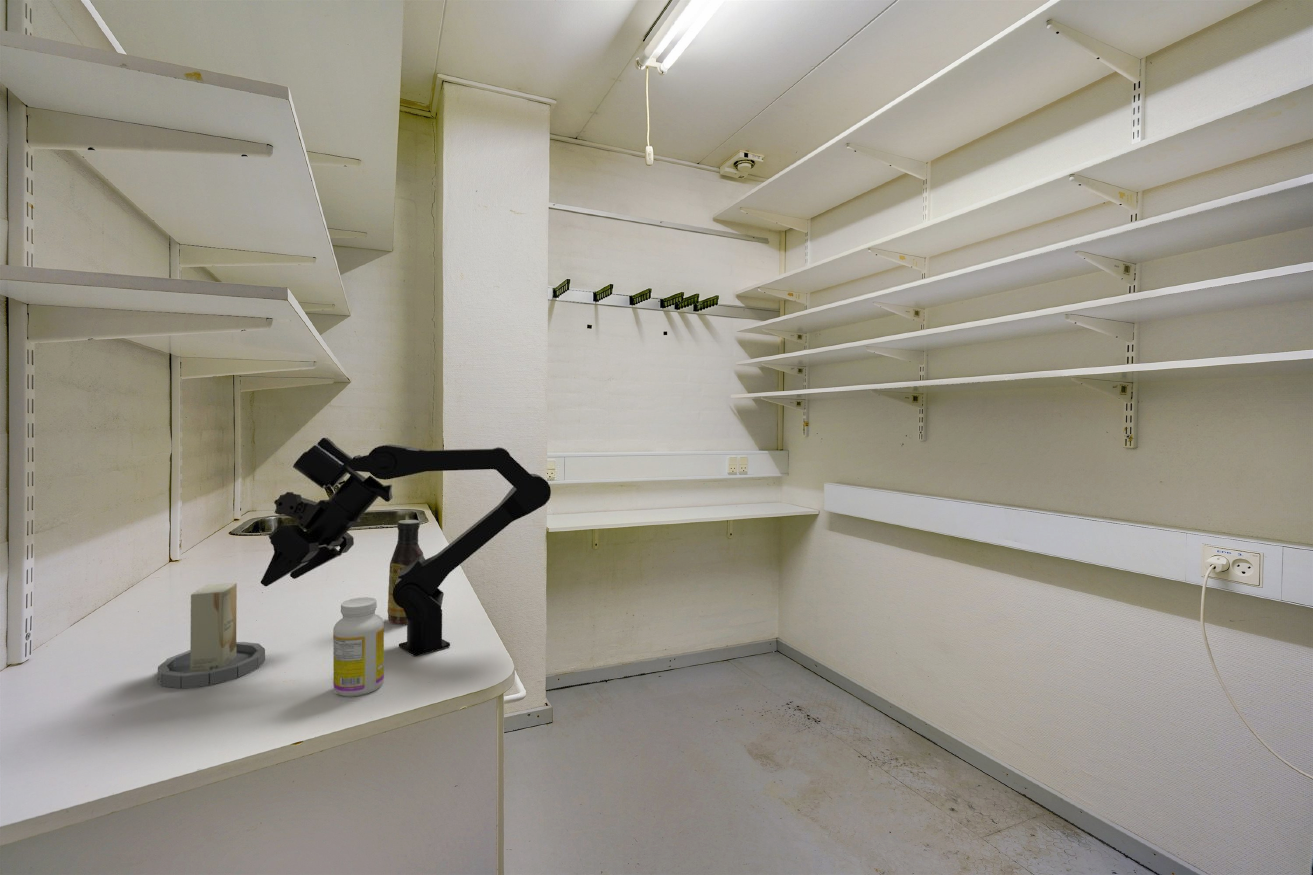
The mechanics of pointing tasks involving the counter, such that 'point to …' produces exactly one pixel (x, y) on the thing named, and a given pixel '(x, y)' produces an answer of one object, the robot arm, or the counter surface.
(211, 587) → the skincare box
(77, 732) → the counter surface
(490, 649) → the counter surface
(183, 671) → the round tray
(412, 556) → the sauce bottle
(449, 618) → the counter surface
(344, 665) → the supplement bottle
